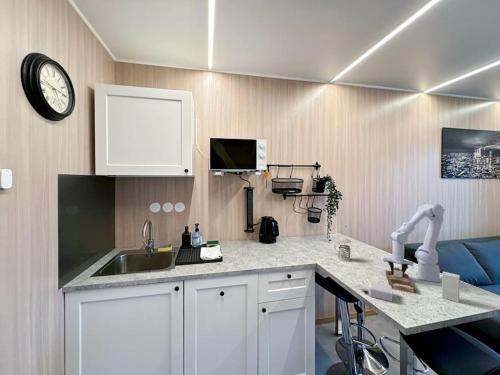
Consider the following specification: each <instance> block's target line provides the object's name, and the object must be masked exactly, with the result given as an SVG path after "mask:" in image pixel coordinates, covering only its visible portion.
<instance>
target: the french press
mask: <svg viewBox="0 0 500 375" xmlns="http://www.w3.org/2000/svg"><path fill="white" fill-rule="evenodd" d="M343 227H344V228H347V224H343ZM340 242H341V243H344V244H340ZM346 243H347V244H346ZM348 243H349V244H350V243H352V241H351V239H349V238H345V237H344V238H343V237H342V238H339V239H338V241H337V244H338V245H339V247H338V250H337V249H336V246H337V244H334V250H335V251H336V252H337V257H336V259H337V260H338V261H340V262H344V263H350V262H352V261H353V260H352V259H351V246H350V245H348Z"/></svg>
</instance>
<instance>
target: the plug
mask: <svg viewBox="0 0 500 375" xmlns="http://www.w3.org/2000/svg"><path fill="white" fill-rule="evenodd" d="M402 273H403V272H402V270H401V268H400V267H395V266H394V276H395V277H401V278H403V277H402ZM391 276H393V275H391Z"/></svg>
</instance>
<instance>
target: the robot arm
mask: <svg viewBox="0 0 500 375" xmlns="http://www.w3.org/2000/svg"><path fill="white" fill-rule="evenodd" d="M444 214H445V208H444V207H443V206H442V205H441V204H439V203H427V202H422V203H421V204H420V205H419V206H418V207H417V211H416V212H415V213H414V215H413V216H412V217H411V218H410V220H409V221H405V222H403V223H402V225H401V226H400V227H399V228H398V229H396V231H393V232H392V233H391V234H390V235H389V236H390V240H391V243H392V248H391V249H392V250H391V252H392V253H391V257H382V261H383V262H384V263H386V262H387V263H388V266H389V268H390V271H391V272H392V275H393V276H394V268H395V265H394V264H397V265H398V264H399V265H400V266H401V268H400V269H401V270H402V272H403V273H402V278H404V277H403V276H404V273H406V271H407V270H408V269H409V266H411V267H414V265H415V264H414V262H413V261H410V260H406V259H405V243H407V241H408V239H409V236H410V235H411V233H412V232H413V231H415V229H416V227H415V226H416V225H417V224H419V223H420V222H421V221H423V219H424V218H426V217H427V218H428V220H429V223H428V226H427V230H426V233H425V235H424V236H425V237H424V240H423V243H422V245H420V246H418V248H417V249H416V251H415V254H414V257H415V258H416V259H417V260H416V261H417V273H415V275H416V277H417V279H418V280H422V281H427V282H435V283H441V281H440V279H441V278H440V274H441V271H440V266H439V265H438V262H439V252H438V251H437V250H436V246H437V243H438V239H439V235H440V233H441V232H440V231H441V229H442V225H443V221H444ZM392 275H391V276H392Z"/></svg>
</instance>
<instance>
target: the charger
mask: <svg viewBox="0 0 500 375" xmlns="http://www.w3.org/2000/svg"><path fill="white" fill-rule="evenodd" d="M356 287H358V288H361V289H360V290H361V291H365V292H368V296H370V297H372V298H375V299H380V300H382V301H383V300H384V301H387V302H390V303H392V302H393V289H392V287H391V285H389V284H387V283H386V284H385V283H382V282H376V281H368V284H366V283H361V284H358V283H357V284H356Z"/></svg>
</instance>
